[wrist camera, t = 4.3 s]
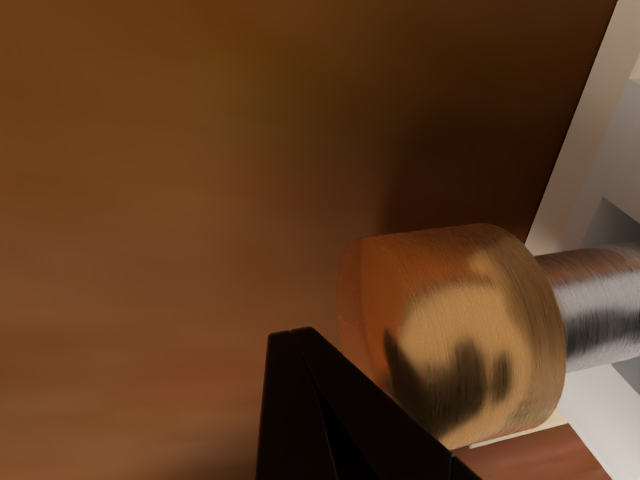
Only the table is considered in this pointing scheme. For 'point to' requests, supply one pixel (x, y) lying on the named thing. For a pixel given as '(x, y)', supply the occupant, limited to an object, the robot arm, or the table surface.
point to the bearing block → (599, 234)
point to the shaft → (483, 324)
